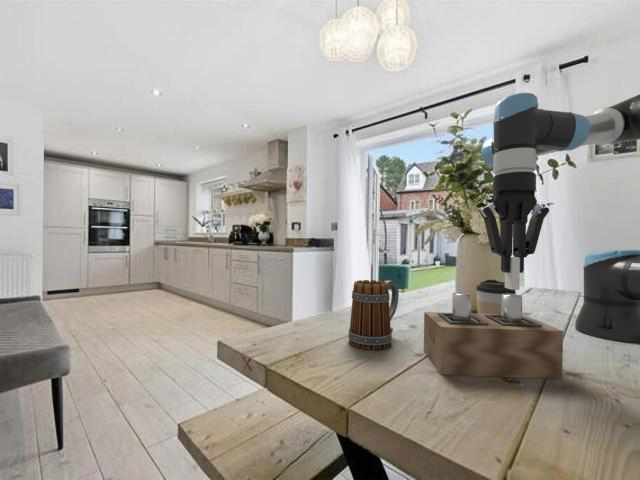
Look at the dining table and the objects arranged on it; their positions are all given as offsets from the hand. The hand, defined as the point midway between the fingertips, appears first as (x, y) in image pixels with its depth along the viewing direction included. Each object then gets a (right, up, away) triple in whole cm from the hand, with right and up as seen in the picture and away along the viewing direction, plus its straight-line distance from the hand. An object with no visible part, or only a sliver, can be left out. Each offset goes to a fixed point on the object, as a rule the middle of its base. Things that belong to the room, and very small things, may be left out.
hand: (511, 288), depth 63 cm
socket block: (-5, -16, 0) cm, 17 cm away
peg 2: (0, -10, 0) cm, 10 cm away
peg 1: (-10, -10, +1) cm, 14 cm away
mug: (-25, -16, +14) cm, 33 cm away
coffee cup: (+6, -16, +17) cm, 24 cm away
